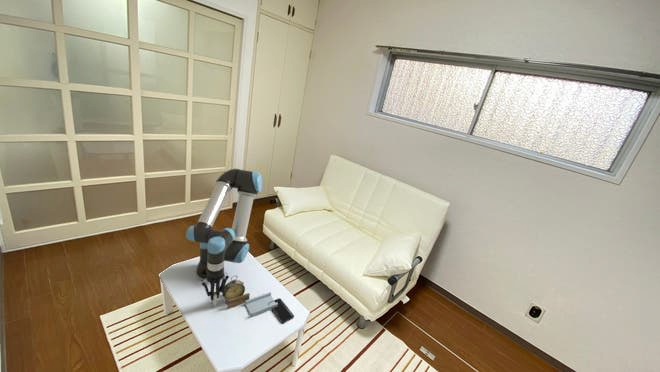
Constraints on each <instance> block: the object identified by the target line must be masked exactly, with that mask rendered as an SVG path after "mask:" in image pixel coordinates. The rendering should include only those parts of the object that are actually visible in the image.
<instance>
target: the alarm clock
mask: <svg viewBox="0 0 660 372" xmlns="http://www.w3.org/2000/svg"><path fill="white" fill-rule="evenodd" d="M234 277H236V279H232V278H234ZM242 282H243V281H241V280H239V279H238V276H237V275H232V277H230V280H229V282H226V284H225V287H224V290H223V292H222V293H221V294H223V296H224V297H223V296H222V297H223V298H224V300H225V302H224V304H228V300H230V299H233V298H236V297H238V296H241V295H244V294H245V292H246V287H245V285H244V284H243V283H244V282H243V283H242Z"/></svg>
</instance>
